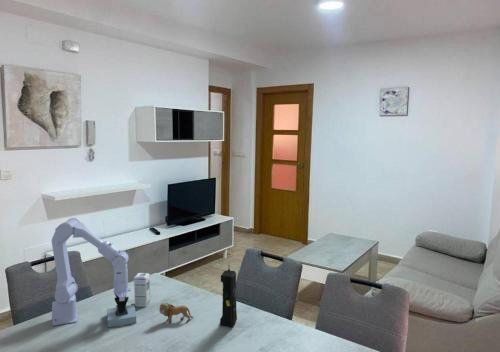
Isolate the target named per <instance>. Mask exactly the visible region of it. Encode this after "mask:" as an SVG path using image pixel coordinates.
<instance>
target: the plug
mask: <svg viewBox="0 0 500 352" xmlns="http://www.w3.org/2000/svg"><path fill="white" fill-rule="evenodd" d="M115 308H116V316H120V315H126V307H125V312H124V313H119V311H118V306H117V304H116V306H115Z"/></svg>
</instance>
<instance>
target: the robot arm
mask: <svg viewBox="0 0 500 352" xmlns="http://www.w3.org/2000/svg"><path fill="white" fill-rule="evenodd" d="M54 230H55V232H54V233H53V236H52V238H51V245H52V246H51V247H52V252H53V258H54V265H55V271H56V279H57V282H56V285H55V293H54V300H53V301H52V304H51V314H52V315H51V319H52V321H51V322H52V326H58V325H59V326H60V325H64V324H72V323H77V322H78V316H79V314H78V312H77V297H76V293H77V292H78V290H79V287H78V284H77V283H76V281H75V278H74V277H73V276H72V271H71V266H70V258H69V254H68V253H69V252H68V247H67V246H68V245H67V241H68V240H70V238H71V237H72V238H74V239H75V238H82V239H83V240H85V241H86V242H88V243H90V244H91V245H93V246H94V247H96V248H97V251H98V252H97V253H99V254H100V255H102V256H103V257H104V258H105V259H107V260H108V261H110V262H111V266H112V267H113V294H114V296H115V297H114V302H115V303H116V305H117V306H118V311H119V313H124V312H125V307H126V306H127V303H128V302H129V296H127V294H128V292H131V291H132V289H131V287H129V276H128V274H129V271H128V262H129V257H130V256H129V254H128V252H126V251H125V250H121V249H118V247H116V246H115V245H113V242H112V241H107V240H106V241H103V240H102V239H101V238H100V237H98V236H97V235H96V234H95V233H94V232H93V231H91V229H89V227H87V226H86V225H85V223H84V222H82V221H80V220H79V219H78V218H76V217H71V218H68V219H67V220H66V221H64V222H61V223H60V224H59V225H58V226H57V227H56V228H55V229H54Z"/></svg>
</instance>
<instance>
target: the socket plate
mask: <svg viewBox="0 0 500 352" xmlns="http://www.w3.org/2000/svg"><path fill="white" fill-rule="evenodd" d="M135 307H136V306H135V304H134V305H126V315H120V316H116V307H113V308H107V309H106V311H107V328H113V327H122V326H126V325H131V324H132V325H133V324H137V314H136V313H137V312H136V308H135Z"/></svg>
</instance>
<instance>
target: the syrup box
mask: <svg viewBox="0 0 500 352" xmlns="http://www.w3.org/2000/svg"><path fill="white" fill-rule="evenodd" d="M133 282H134V283H133V286H134V290H133V291H134V307H138V308H139V307H141V308H143V307H144V308H145V307H146V308H147V307H148V305H149V304H150V302H151V288H150V287H151V285H150V284H151V283H150V273H149V272H138V273H137V274H136V275H134V277H133Z"/></svg>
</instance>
